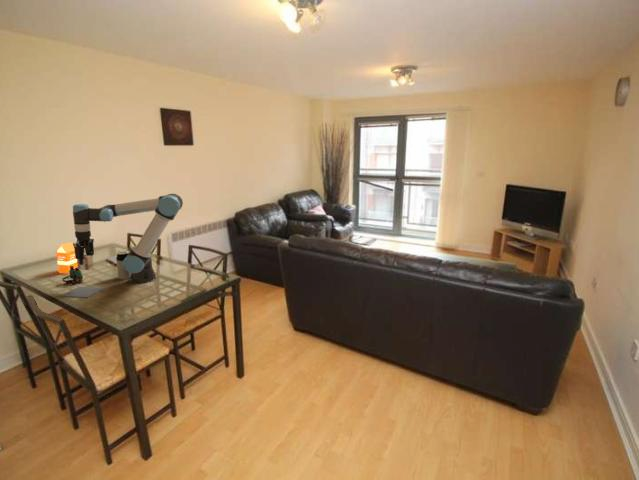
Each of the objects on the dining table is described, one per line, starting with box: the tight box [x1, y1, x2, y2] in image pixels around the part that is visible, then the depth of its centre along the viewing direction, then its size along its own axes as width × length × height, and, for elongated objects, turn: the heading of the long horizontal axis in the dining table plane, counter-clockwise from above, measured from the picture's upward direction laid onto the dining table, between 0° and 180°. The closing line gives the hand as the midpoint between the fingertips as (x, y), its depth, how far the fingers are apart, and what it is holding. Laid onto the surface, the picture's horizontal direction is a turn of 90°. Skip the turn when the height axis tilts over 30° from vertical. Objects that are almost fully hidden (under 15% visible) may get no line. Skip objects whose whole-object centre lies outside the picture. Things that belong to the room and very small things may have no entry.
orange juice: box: [55, 241, 78, 274], centre depth 229 cm, size 8×9×20 cm
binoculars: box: [62, 266, 84, 286], centre depth 209 cm, size 9×11×10 cm
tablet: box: [106, 254, 117, 266], centre depth 257 cm, size 16×26×2 cm, turn 51°
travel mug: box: [115, 250, 131, 280], centre depth 221 cm, size 8×8×18 cm
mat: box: [60, 286, 105, 299], centre depth 197 cm, size 16×14×1 cm
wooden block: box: [77, 254, 94, 271], centre depth 199 cm, size 7×4×8 cm, turn 86°
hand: (86, 268), depth 200 cm, fingers closed on wooden block, 4 cm apart
